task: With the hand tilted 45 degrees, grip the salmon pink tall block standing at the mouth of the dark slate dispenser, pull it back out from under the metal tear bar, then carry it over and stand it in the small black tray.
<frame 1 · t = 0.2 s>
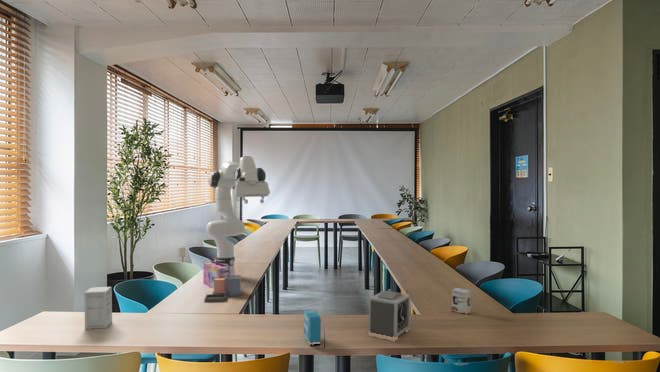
hand: (254, 202, 261), 54 cm above the table, tool tilted 30°, fingers open, 8 cm apart
tray: (215, 299, 257), on the table
ink box: (460, 312, 238), on the table
gum box: (216, 286, 288), on the table
dispenser: (219, 294, 268), on the table
salmon pink tall block: (219, 294, 268), resting in dispenser
supplement box: (98, 325, 212), on the table
alarm clock: (389, 333, 206), on the table
data package: (311, 341, 195), on the table
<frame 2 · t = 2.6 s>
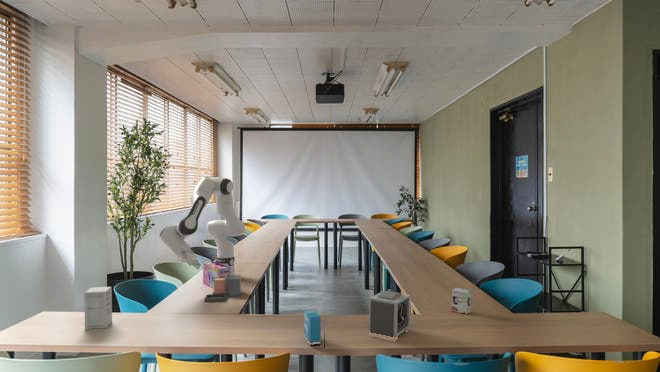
hand: (199, 267, 265), 16 cm above the table, tool tilted 45°, fingers open, 8 cm apart
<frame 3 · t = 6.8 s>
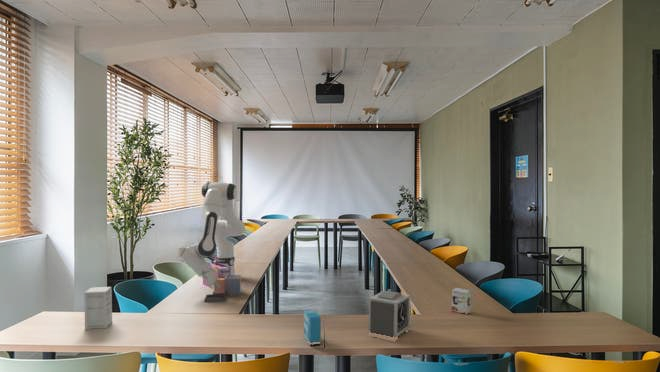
hand: (220, 286, 268), 5 cm above the table, tool tilted 45°, fingers closed on salmon pink tall block, 3 cm apart
salmon pink tall block: (219, 294, 268), resting in dispenser, touching gripper
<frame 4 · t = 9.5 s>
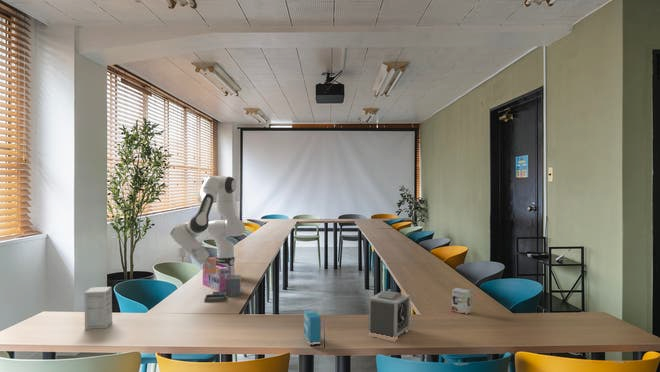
hand: (211, 265, 264), 18 cm above the table, tool tilted 45°, fingers closed on salmon pink tall block, 3 cm apart
salmon pink tall block: (210, 273, 264), point 13 cm above the table, touching gripper
when the fingers open (7 cm above the table, at t = 12.3 s): salmon pink tall block drops 1 cm, resting on tray.
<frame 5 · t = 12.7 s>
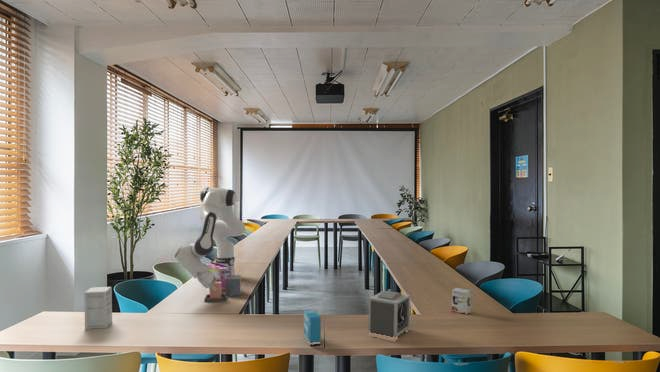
hand: (216, 287, 257), 7 cm above the table, tool tilted 45°, fingers open, 7 cm apart
salmon pink tall block: (215, 298, 257), point 1 cm above the table, touching tray
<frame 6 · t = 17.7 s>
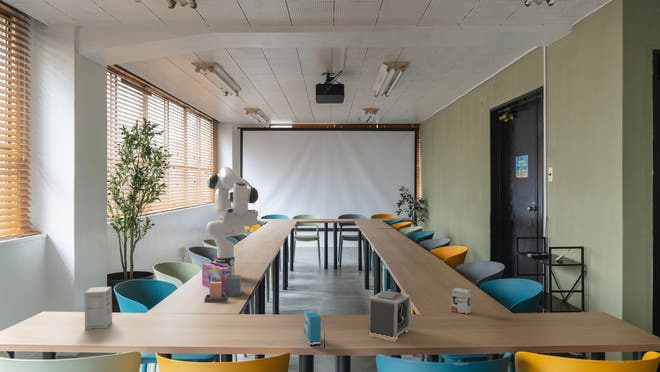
hand: (240, 232, 276), 35 cm above the table, tool pointing down, fingers open, 8 cm apart
at the end: salmon pink tall block inside the target area on the tray (0.1 cm from its centre), point 0.6 cm above the tray's base; salmon pink tall block moved 11.0 cm from its start; the gripper is holding nothing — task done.
